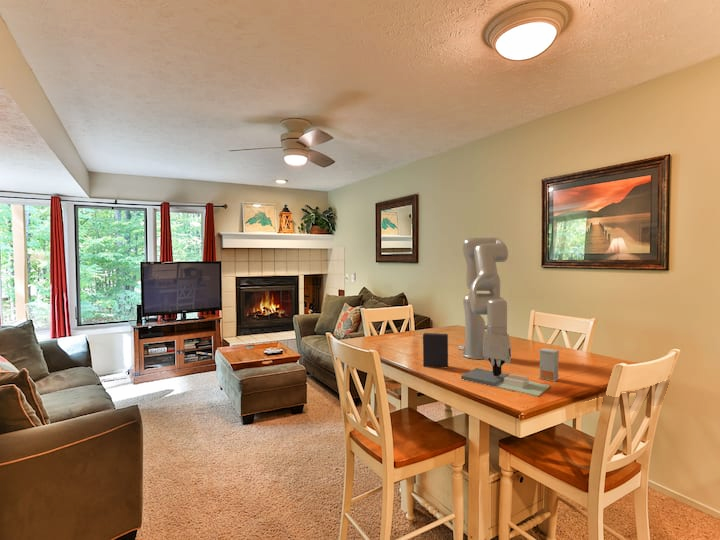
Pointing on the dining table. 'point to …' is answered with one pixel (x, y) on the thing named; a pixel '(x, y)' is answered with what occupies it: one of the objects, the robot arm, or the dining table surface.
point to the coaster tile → (516, 381)
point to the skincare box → (549, 364)
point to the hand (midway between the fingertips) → (497, 375)
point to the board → (484, 377)
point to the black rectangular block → (435, 350)
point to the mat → (527, 388)
